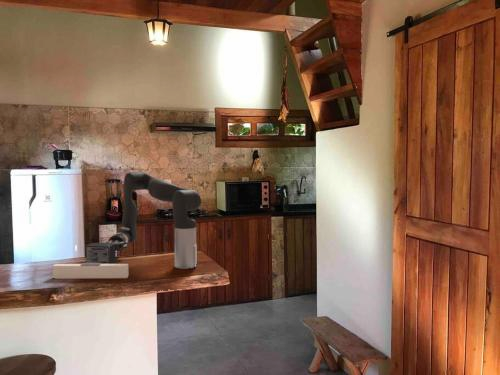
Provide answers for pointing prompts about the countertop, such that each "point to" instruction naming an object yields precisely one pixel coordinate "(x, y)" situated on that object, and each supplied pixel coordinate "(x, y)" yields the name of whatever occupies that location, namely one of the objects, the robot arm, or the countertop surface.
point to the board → (90, 270)
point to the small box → (101, 253)
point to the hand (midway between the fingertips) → (107, 249)
